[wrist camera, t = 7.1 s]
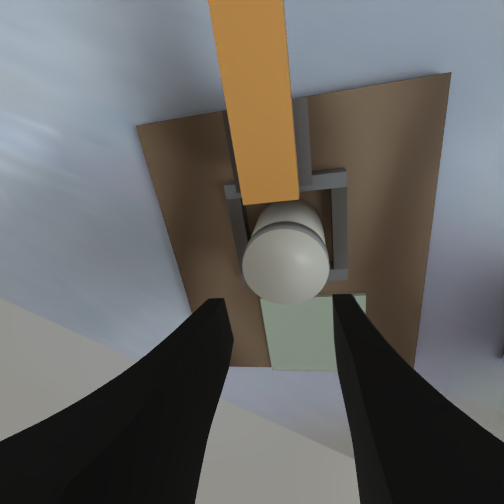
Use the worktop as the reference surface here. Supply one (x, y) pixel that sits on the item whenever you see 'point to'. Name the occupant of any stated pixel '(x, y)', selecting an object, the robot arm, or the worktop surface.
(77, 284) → the worktop surface
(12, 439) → the robot arm
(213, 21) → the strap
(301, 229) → the plug
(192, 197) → the board
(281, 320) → the sage mat
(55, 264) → the worktop surface
